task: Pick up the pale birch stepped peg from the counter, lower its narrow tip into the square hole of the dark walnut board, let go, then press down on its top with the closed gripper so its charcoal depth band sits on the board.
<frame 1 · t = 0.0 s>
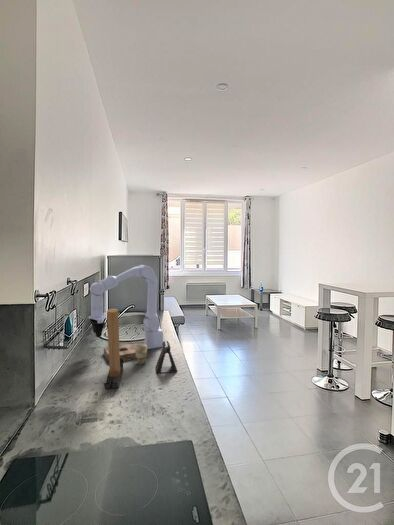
hand: (97, 334, 148), 10 cm above the worktop, tool pointing down, fingers open, 7 cm apart
board: (123, 355, 148), on the worktop
dark a-frame stand: (166, 370, 131), on the worktop
peg: (141, 362, 139), on the worktop
hammer: (115, 381, 120), on the worktop
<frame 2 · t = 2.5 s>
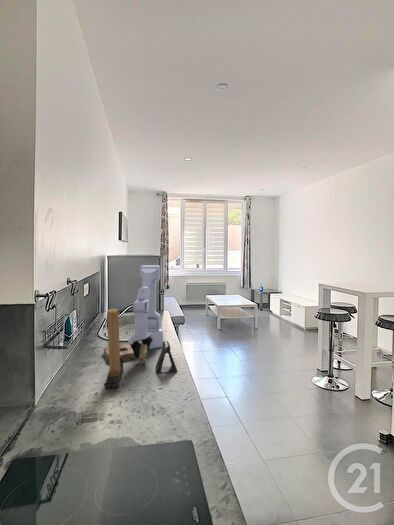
hand: (141, 355, 139), 3 cm above the worktop, tool pointing down, fingers closed on peg, 5 cm apart
peg: (141, 362, 139), on the worktop, touching gripper
everything else where it was.
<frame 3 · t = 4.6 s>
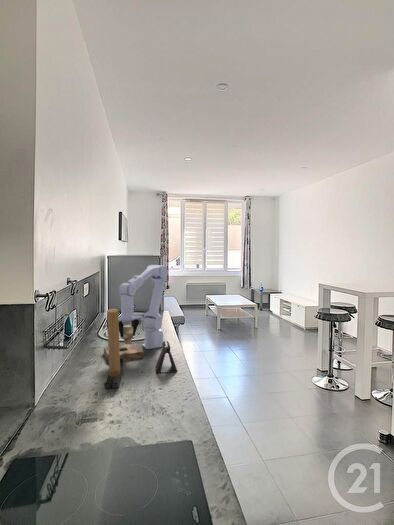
hand: (127, 336, 145), 10 cm above the worktop, tool pointing down, fingers closed on peg, 5 cm apart
peg: (127, 343, 145), point 7 cm above the worktop, touching gripper
everything else where it was.
when the fingers open (5 cm above the worktop, at t = 6.7 s): peg drops 1 cm, resting on board.
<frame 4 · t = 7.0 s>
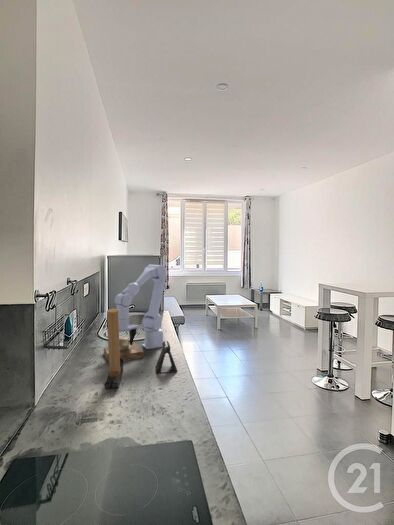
hand: (123, 345, 148), 5 cm above the worktop, tool pointing down, fingers open, 7 cm apart
peg: (123, 354, 148), resting on board
everything else where it was.
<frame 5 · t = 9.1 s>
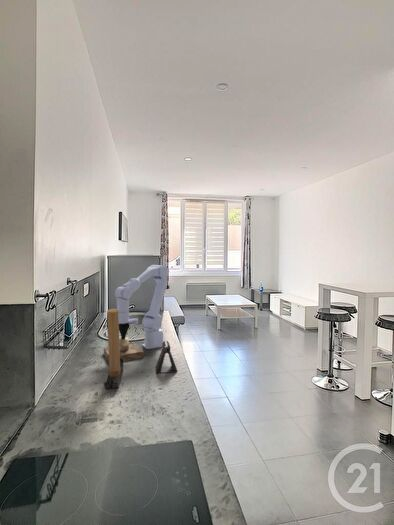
hand: (123, 338, 148), 8 cm above the worktop, tool pointing down, fingers closed, pressing on peg
peg: (123, 354, 148), resting on board, touching gripper
everything else where it was.
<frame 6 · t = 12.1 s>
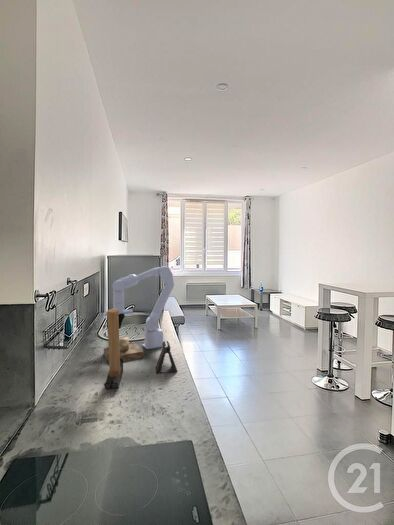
hand: (118, 328, 159), 10 cm above the worktop, tool pointing down, fingers closed
peg: (123, 354, 148), resting on board
everything else where it was.
at the end: peg 0.1 cm off-centre on the board, point 0.4 cm above the board's base; peg tilted 0°; the gripper is holding nothing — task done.
